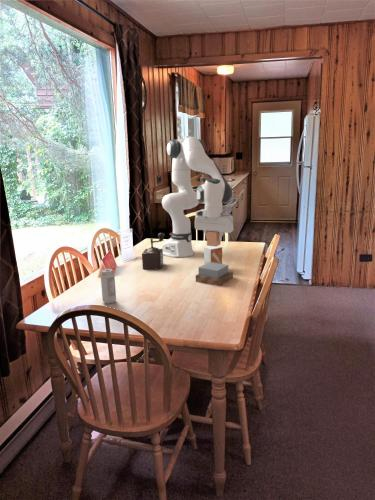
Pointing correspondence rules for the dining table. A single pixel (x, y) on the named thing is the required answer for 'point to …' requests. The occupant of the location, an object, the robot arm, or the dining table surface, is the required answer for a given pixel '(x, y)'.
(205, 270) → the grey square slab
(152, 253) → the pepper mill
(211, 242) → the pillar block
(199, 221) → the robot arm
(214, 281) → the tower base
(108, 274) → the energy drink can
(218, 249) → the small box
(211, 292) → the dining table surface
